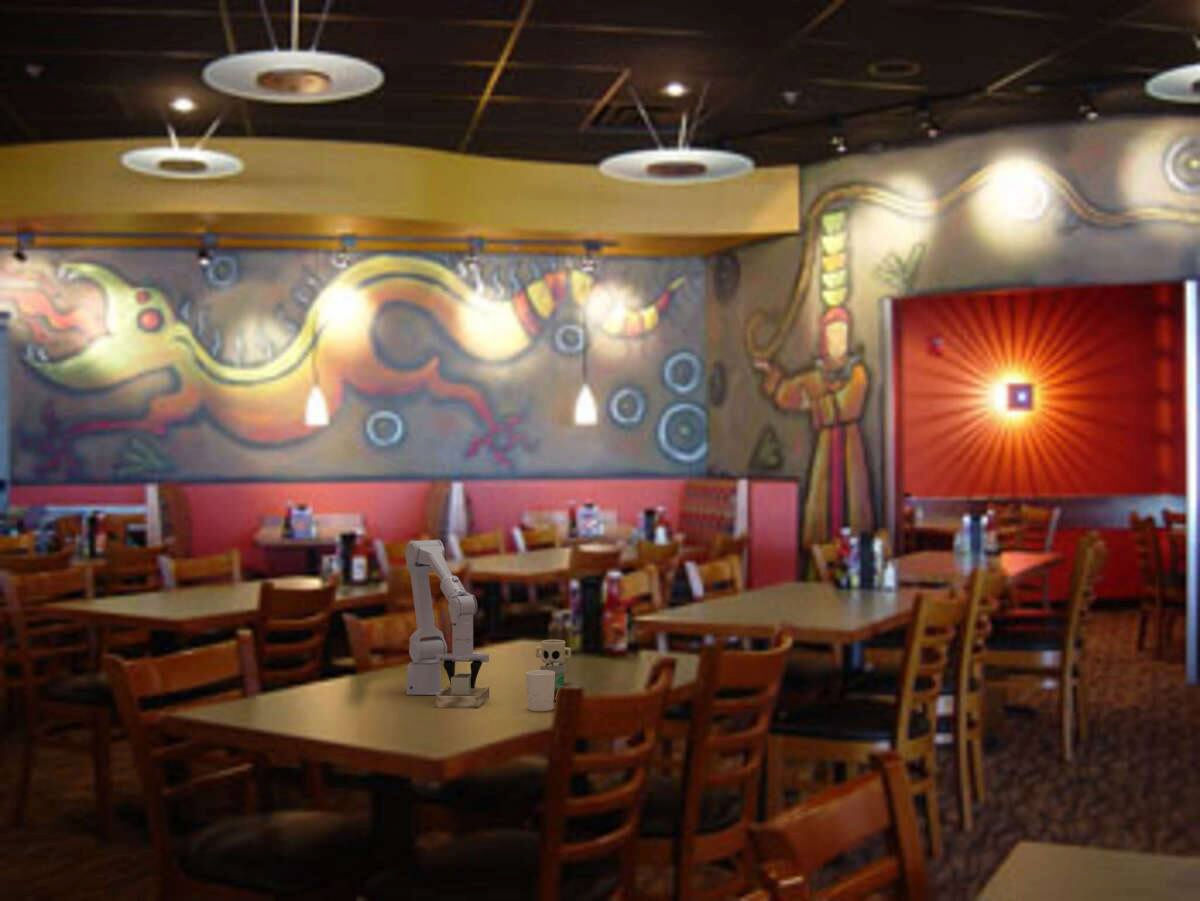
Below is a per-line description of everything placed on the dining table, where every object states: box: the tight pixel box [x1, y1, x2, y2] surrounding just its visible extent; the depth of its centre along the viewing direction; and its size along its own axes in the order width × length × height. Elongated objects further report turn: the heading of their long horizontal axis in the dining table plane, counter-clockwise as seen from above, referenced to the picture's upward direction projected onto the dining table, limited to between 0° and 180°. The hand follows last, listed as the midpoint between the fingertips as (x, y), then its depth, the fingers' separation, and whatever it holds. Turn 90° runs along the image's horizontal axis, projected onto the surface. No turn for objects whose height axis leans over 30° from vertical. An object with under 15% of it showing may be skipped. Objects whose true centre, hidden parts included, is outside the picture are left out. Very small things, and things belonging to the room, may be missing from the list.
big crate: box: [434, 686, 490, 709], centre depth 388 cm, size 12×16×3 cm
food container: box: [539, 660, 568, 702], centre depth 393 cm, size 12×6×10 cm, turn 168°
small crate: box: [450, 672, 475, 696], centre depth 388 cm, size 5×8×5 cm, turn 174°
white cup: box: [525, 669, 555, 712], centre depth 378 cm, size 8×8×10 cm
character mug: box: [535, 639, 572, 666], centre depth 418 cm, size 11×7×13 cm, turn 76°
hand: (462, 687), depth 388 cm, fingers closed on small crate, 5 cm apart
